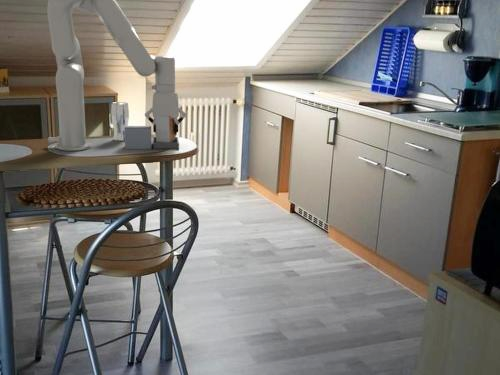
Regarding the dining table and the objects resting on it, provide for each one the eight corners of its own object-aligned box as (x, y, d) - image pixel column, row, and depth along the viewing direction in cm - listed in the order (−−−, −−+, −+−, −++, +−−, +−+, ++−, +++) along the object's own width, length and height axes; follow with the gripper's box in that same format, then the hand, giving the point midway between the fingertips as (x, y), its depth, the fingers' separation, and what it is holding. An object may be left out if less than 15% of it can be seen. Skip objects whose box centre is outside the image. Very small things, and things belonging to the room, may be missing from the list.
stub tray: (152, 149, 231) (152, 143, 230) (152, 143, 242) (152, 137, 242) (178, 149, 232) (178, 143, 232) (177, 143, 244) (177, 137, 243)
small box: (169, 143, 232) (169, 116, 229) (155, 142, 233) (155, 115, 231) (176, 139, 240) (175, 113, 237) (162, 138, 241) (162, 112, 238)
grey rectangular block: (125, 148, 231) (124, 127, 228) (125, 146, 235) (125, 125, 233) (151, 148, 232) (151, 127, 230) (151, 146, 237) (151, 125, 235)
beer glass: (130, 138, 250) (129, 102, 246) (128, 141, 244) (127, 104, 240) (114, 137, 250) (112, 101, 246) (110, 141, 243) (109, 104, 239)
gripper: (142, 89, 226) (143, 136, 231) (188, 90, 229) (188, 135, 234) (142, 87, 233) (143, 132, 238) (187, 87, 236) (187, 132, 241)
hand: (165, 133), depth 236 cm, fingers closed on small box, 7 cm apart
